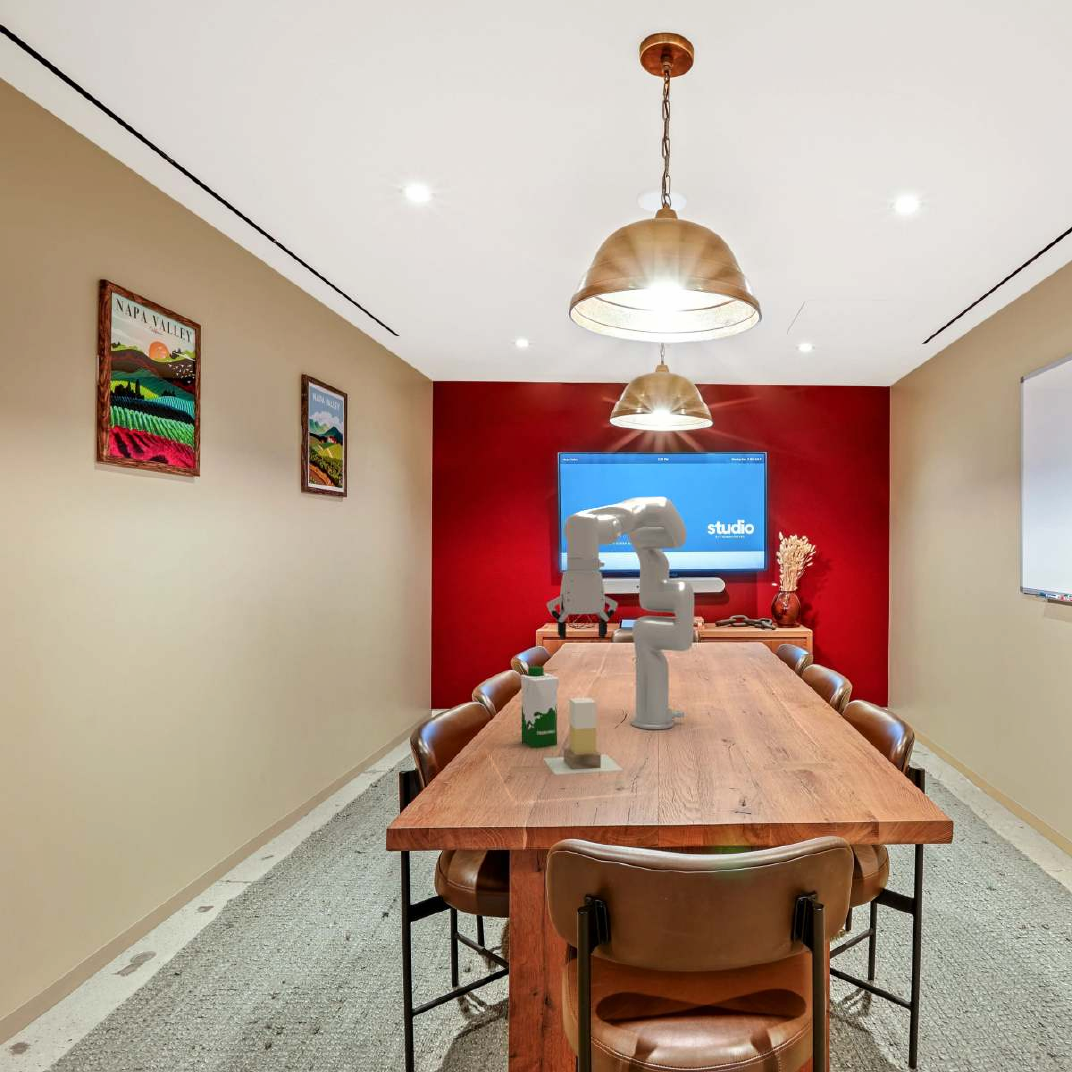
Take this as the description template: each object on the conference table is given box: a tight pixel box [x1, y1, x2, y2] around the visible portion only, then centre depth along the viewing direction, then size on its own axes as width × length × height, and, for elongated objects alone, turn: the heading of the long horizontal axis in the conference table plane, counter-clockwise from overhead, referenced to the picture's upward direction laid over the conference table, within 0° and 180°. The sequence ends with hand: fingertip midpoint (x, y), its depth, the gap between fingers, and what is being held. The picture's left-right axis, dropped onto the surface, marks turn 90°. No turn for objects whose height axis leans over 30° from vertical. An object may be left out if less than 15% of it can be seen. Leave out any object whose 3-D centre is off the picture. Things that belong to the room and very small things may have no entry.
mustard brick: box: [568, 724, 597, 755], centre depth 163 cm, size 5×5×6 cm
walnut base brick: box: [563, 747, 602, 770], centre depth 163 cm, size 7×7×3 cm
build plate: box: [543, 754, 623, 776], centre depth 163 cm, size 16×12×1 cm
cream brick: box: [568, 697, 597, 729], centre depth 163 cm, size 5×5×6 cm
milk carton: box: [520, 665, 560, 749], centre depth 180 cm, size 9×9×20 cm
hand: (582, 638), depth 163 cm, fingers open, 9 cm apart
